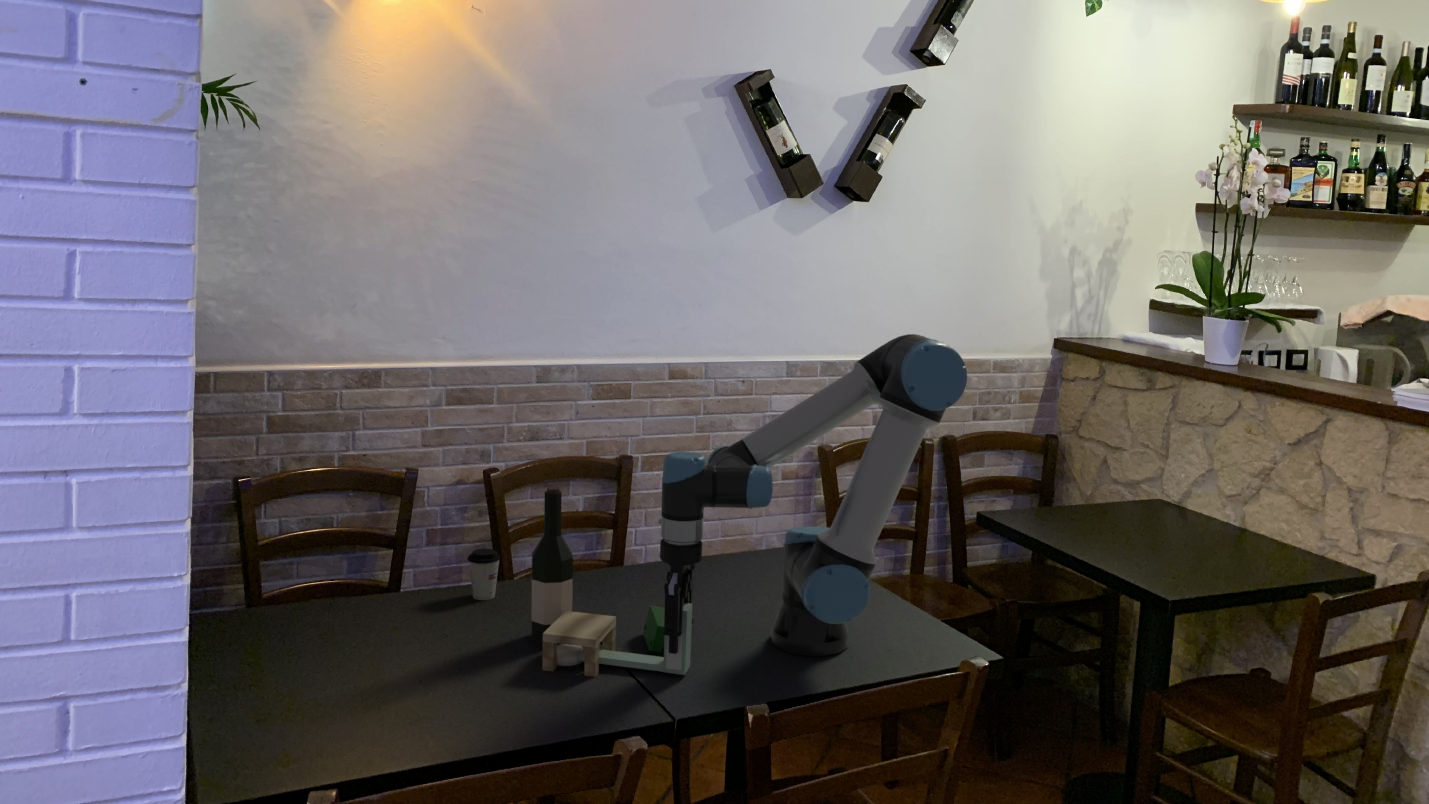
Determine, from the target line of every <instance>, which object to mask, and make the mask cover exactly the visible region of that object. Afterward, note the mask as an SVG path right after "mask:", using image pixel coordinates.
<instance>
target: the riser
mask: <svg viewBox="0 0 1429 804" xmlns="http://www.w3.org/2000/svg"><path fill="white" fill-rule="evenodd" d="M616 635H617V616H614V615H606V614H597V613H590V612H589V613H588V612H579V611H573V610H572V611H565V612H564V613H563V614H562V615H561V616H560V617H559V618H558V619H557V620H556V621H555V622H554V623H553V624H552V625H551V626H550V627H549V628H548V629H547V630H546V631H545V632H544V633H543V645H542V671H547V672H555V670H556V669H557V668H558V665H557V643H560V644H569V645H577V646H582V647H584V649H585V662H584V676H586V677H593V678H595V677H596V676H597V675H598V674H599V673H600V672H599V671H600V670H599V668H600V665H599V649H600V643H601V649H602V650H610V651H616V646H617V645H616V638H617V636H616Z"/></svg>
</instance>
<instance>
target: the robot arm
mask: <svg viewBox="0 0 1429 804" xmlns="http://www.w3.org/2000/svg"><path fill="white" fill-rule="evenodd" d="M965 364H966V363H965V361H964V359H963V357H962V356H961V355H960V353H958V351H956V350H955V349H954V348H953V347H952V346H950V345H948V344H947V343H945V342H943V341H939V340H937V339H932V338H930V337H926V336H924V335H920V334H916V333H915V334H914V333H911V334H909V333H908V334H903V335H901V336H897V337H895V338H893V339H891V340H889V341H887V342H886V343H884V344H883V345H881V346H879V347H878V348H876V349H874V350H873V351H871V352H870V353H868V354H867V355H865V356H864V357H862V358H860V359H859V360H857V361H856V362H854V365H853V368H852V370H851V371H850V372H848V373H846V374H844V375H843V376H841V377H839V378H838V379H836V380H835V381H833V382H832V383H830V384H828V385H827V386H825V387H823V388H822V389H820V390H818V391H817V392H816V393H814V394H813V395H811V396H809V397H808V398H806V399H804V400H803V401H801V402H799V403H798V404H796V405H795V406H793V407H792V408H790V409H788V410H787V411H786V410H785V412H783V413H782V414H780V415H778V416H777V417H776V418H774V419H772V420H770V421H769V422H767V423H766V424H764V425H762V426H761V427H759V428H757V429H755V430H754V431H753V432H751V433H749V434H748V435H746V436H745V437H743V438H742V439H739V440H738V441H736V442H734V443H732V444H731V445H723V446H719V447H717V448H715V449H714V450H713V451H712V452H711V453H710V454H709V456H708V458H707V459H706V457H705V455H704V454H702V453H699V452H690V451H675V452H671V453H669V454H667V455H665V457H664V460H663V468H662V477H661V513H660V515H661V518H659V519H658V521H657V522H658V524H659V525H660V526H661V527H660V537H661V538H662V539H660V541H659V542H660V543H659V548H660V550H659V559H660V561H661V562H663V563H664V564H667V565H669V566H670V569H669V571H667V573H666V583H664V585H663V589H664V608H665V616H664V631H663V632H662V634H663V635H667V651H666V669H674V670H681V668H682V642H683V634H681V633H682V632H681V629H682V617H683V604H684V603H690V604H692V605H693V599H694V598H693V596H694V579H695V578H694V577H695V576H694V575H695V569H696V565H697V564H699V563H700V562H701V561H702V560H703V559H702V558H703V541H702V539H703V537H704V511H705V508H724V509H725V508H727V509H728V508H731V509H732V508H733V509H734V508H735V509H750V510H752V509H755V508H758V509H759V508H766V507H768V506H769V505H770V504H771V501H772V498H773V487H774V486H773V483H774V482H773V475H772V471H771V468H772V467H774V466H775V465H777V464H779V463H781V462H782V461H784V460H785V459H786V458H789V457H790V456H791V455H793V454H795V453H797V452H798V451H800V450H801V449H803V448H805V447H807V446H808V445H809V444H811V443H813V442H815V441H816V440H818V439H819V438H821V437H823V436H824V435H826V434H828V433H829V432H831V431H832V430H834V429H836V428H837V427H839V426H840V425H842V424H844V423H845V422H846V421H849V420H850V419H853V418H854V417H855V416H857V415H858V414H860V413H862V412H863V411H865V410H866V409H868V408H870V407H871V406H873V405H877V406H881V409H882V411H881V413H880V415H879V418H878V420H877V422H876V424H875V425H874V426H875V427H874V429H873V431H872V434H871V436H870V438H869V440H868V442H867V444H866V446H865V449H864V451H863V454H862V456H861V458H860V460H859V462H858V465H857V467H856V468H855V469H856V470H855V471H854V473H853V476H852V479H851V481H850V483H849V485H848V487H847V490H846V492H845V494H844V496H843V499H842V500H841V503H840V506H839V508H838V510H837V512H836V514H835V517H834V519H833V521H832V524H831V526H830V527H827V526H826V527H824V526H799V527H792V528H789V529H788V530H787V531H786V532H785V536H784V537H785V538H784V542H783V547H784V548H783V550H784V551H783V569H782V593H781V596H782V597H781V604H780V606H779V609H778V611H777V614H776V616H775V618H774V621H773V623H772V627H771V636H770V637H771V642H772V645H774V646H775V647H776V648H778V649H780V650H782V651H785V652H787V653H790V654H794V655H800V656H807V657H825V656H832V655H836V654H839V653H842V652H843V651H845V650H846V649H847V648H848V646H849V631H848V627H847V623H848V622H851V621H853V620H855V619H857V618H858V617H860V616H861V615H862V613H864V611H865V610H866V608H867V607H868V604H869V602H870V599H871V587H870V586H871V585H870V582H869V580H870V578H871V575H872V573H873V571H874V568H875V566H876V564H877V562H878V561H877V558H876V556H875V552H874V548H875V545H876V544H877V541H878V539H879V537H880V535H881V532H882V530H883V528H884V526H885V523H886V522H887V519H888V517H889V515H890V512H891V510H892V509H893V508H892V507H893V506H894V503H895V501H896V500H897V496H898V495H899V492H900V490H901V488H902V486H903V485H904V484H903V483H904V481H905V479H906V477H907V474H908V473H909V470H910V468H911V465H912V464H913V462H914V459H915V457H916V454H917V452H918V450H919V448H920V446H921V443H922V441H923V439H924V437H925V435H926V432H927V431H928V430H929V429H931V428H933V427H935V426H936V427H937V426H938V425H940V423H941V420H942V418H943V416H944V415H945V412H946V409H949V408H950V407H952V406H954V405H955V404H956V403H957V402H958V401H959V400H960V399H961V398H962V396H963V394H964V392H965V390H966V388H967V387H966V386H967V383H968V371H967V367H966V365H965ZM694 620H695V619H694V618H692V625H693V624H694V622H695V621H694Z"/></svg>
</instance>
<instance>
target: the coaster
mask: <svg viewBox="0 0 1429 804" xmlns="http://www.w3.org/2000/svg"><path fill="white" fill-rule="evenodd" d="M584 649H585V648H584V646H577V645H569V644H560V645H557V666H561V667H572V666H573V667H574V666H576V665H580V664H581V663H582V662H584V661H579V655H580V653H581V652H582V651H583V650H584Z"/></svg>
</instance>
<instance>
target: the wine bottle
mask: <svg viewBox="0 0 1429 804" xmlns="http://www.w3.org/2000/svg"><path fill="white" fill-rule="evenodd" d="M543 509H544V512H543V513H544V515H543V516H544V517H543V518H544V520H543V522H544V524H543V525H544V526H543V528H544V529H543V530H544V531H543V535H542V537H540V540H539V542H538V543H537V544H536V546H535V548H534V549H533V551H532V553H531V625H530V626H531V634H530V635H531V636H530V637H531V642H532V643H534V644H537V645H541V646H543V633H544V632H545V631H546V630H547V629H548V628H549V627H550V626H551V625H552V624H553V623H554V622H555V621H556V620H557V619H558V618H559V617H560V616H561V615H562V614H563V613H564V612H565V611H572V612H573V587H574V585H573V581H574V580H573V579H574V575H573V574H574V570H573V569H574V566H573V565H574V556H573V551H572V550H571V549H570V547H569V545H568V544H567V542H566V540H565V538H564V537H563V535H562V491H561V490H560V487H557V486H549V487H546V491H544V508H543ZM557 645H560V643H557Z"/></svg>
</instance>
